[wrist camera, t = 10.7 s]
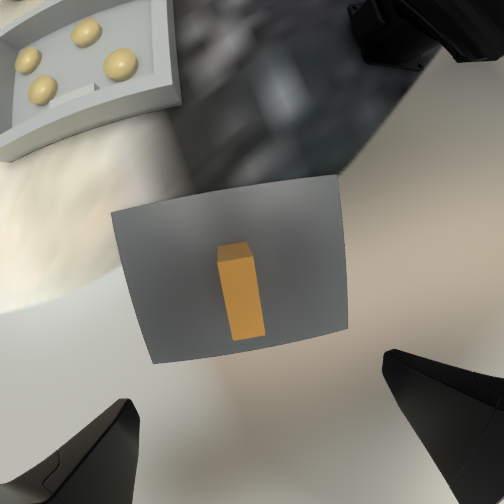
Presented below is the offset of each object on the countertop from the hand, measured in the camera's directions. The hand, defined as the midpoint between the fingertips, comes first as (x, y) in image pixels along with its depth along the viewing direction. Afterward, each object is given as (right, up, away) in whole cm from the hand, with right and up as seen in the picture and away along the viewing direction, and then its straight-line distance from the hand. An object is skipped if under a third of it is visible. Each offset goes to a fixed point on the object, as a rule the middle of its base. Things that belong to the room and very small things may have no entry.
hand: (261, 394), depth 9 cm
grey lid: (-1, +3, +13) cm, 14 cm away
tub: (-14, +19, +7) cm, 25 cm away
